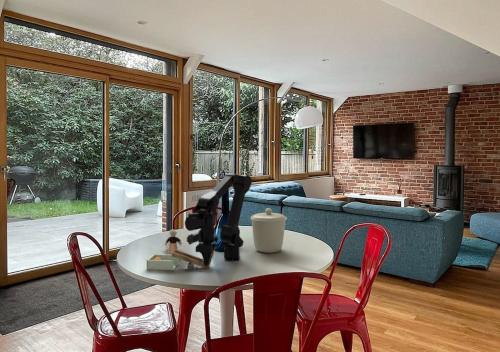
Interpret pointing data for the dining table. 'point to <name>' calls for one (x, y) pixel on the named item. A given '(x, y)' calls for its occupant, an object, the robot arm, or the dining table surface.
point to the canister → (268, 231)
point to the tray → (162, 262)
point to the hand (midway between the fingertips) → (207, 263)
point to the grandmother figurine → (172, 241)
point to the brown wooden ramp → (191, 258)
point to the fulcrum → (190, 267)
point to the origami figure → (168, 244)
